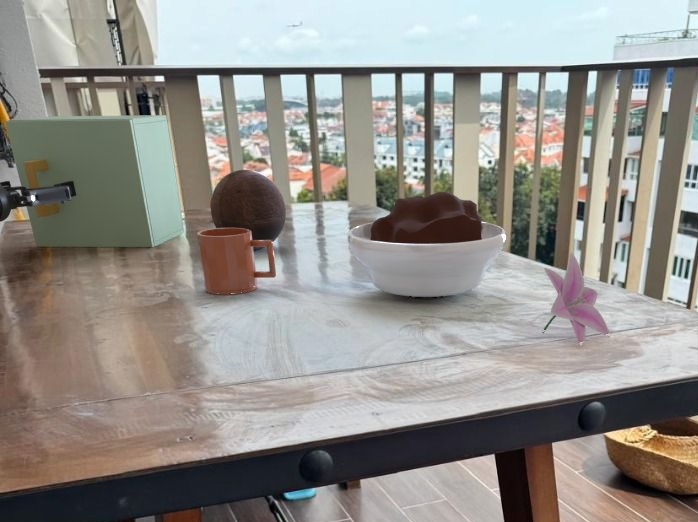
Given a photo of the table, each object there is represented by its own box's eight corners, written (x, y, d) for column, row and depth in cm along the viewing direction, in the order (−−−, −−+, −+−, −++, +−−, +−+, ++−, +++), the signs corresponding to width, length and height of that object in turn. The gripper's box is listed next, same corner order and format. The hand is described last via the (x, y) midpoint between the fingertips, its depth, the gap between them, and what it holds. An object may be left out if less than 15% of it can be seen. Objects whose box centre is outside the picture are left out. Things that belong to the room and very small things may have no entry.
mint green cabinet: (140, 253, 154) (116, 121, 142) (20, 252, 156) (-14, 122, 144) (154, 246, 160) (131, 119, 148) (38, 245, 163) (7, 120, 150)
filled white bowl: (388, 320, 109) (385, 207, 101) (328, 285, 128) (322, 188, 120) (533, 300, 118) (541, 195, 110) (456, 270, 137) (459, 179, 129)
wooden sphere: (303, 248, 157) (297, 168, 150) (247, 259, 148) (237, 175, 140) (258, 240, 166) (249, 164, 158) (201, 250, 156) (190, 170, 148)
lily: (532, 360, 96) (575, 297, 89) (498, 303, 102) (536, 241, 96) (599, 374, 102) (644, 316, 96) (563, 319, 108) (603, 262, 102)
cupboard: (154, 247, 161) (132, 118, 148) (39, 246, 163) (8, 119, 151) (184, 232, 176) (166, 115, 163) (79, 232, 178) (53, 116, 166)
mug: (199, 295, 123) (191, 236, 119) (212, 283, 131) (204, 227, 126) (273, 294, 123) (267, 236, 118) (281, 282, 130) (275, 227, 126)
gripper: (-78, 224, 138) (-11, 208, 156) (51, 225, 135) (103, 208, 153) (-92, 179, 134) (-22, 167, 152) (40, 179, 131) (95, 167, 149)
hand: (41, 188), depth 153 cm, fingers open, 13 cm apart
